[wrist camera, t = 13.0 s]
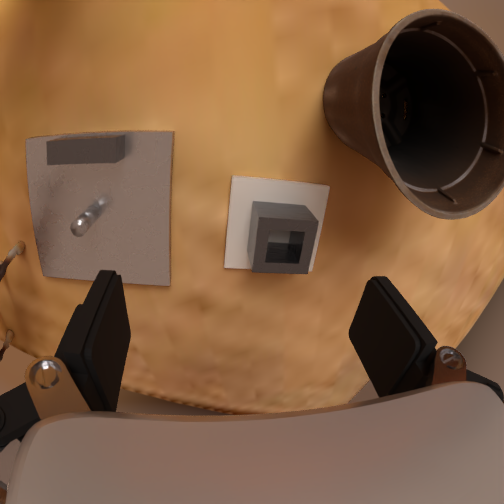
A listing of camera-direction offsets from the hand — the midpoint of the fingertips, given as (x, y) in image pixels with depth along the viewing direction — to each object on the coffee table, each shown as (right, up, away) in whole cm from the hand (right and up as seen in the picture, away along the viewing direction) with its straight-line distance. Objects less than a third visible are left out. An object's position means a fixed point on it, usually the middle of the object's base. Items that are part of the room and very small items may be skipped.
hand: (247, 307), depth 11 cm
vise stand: (-18, +7, +21) cm, 28 cm away
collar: (+3, +5, +24) cm, 24 cm away
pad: (+3, +5, +24) cm, 25 cm away
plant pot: (+13, +19, +19) cm, 30 cm away
